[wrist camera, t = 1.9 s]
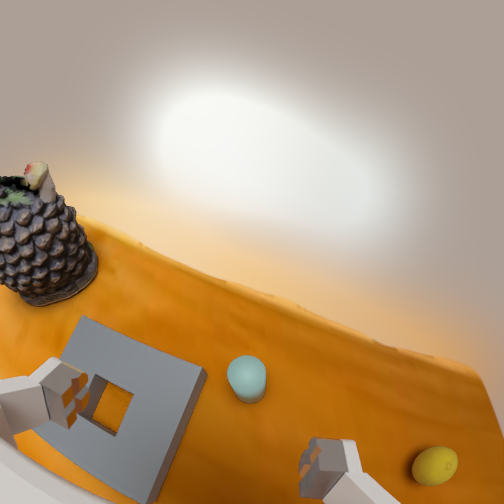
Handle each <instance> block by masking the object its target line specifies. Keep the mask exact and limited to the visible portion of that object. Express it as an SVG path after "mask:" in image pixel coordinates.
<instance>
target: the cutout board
mask: <svg viewBox="0 0 504 504" xmlns="http://www.w3.org/2000/svg"><path fill="white" fill-rule="evenodd" d="M60 360H61V361H63V362H66V363H68V364H69V365H71V366H73V367H75V368H77V369H79V370H81V371H83V372H85V373H87V374H88V382H87V384H86V386H87V387H88V389H89V393H90V396H89V401H88V404H87V406H86V408H85V409H84V411H83V412H80V413H77V414H76V415H77V420H76V421H75V422H74V424H73V425H72V426H71V428H70V429H69V430H68V429H66V428H64V427H62V426H60V425H58V424H56V423H54V422H53V421H51V420H50V422H47V423H44V424H42V425H39V426H37V427H34V428H32V430H33V431H34V432H36V433H37V434H38V435H39V436H40V437H41V438H43V439H44V440H45V441H46V442H48V443H49V444H50V445H51V446H52V447H54V448H55V449H56V450H58V451H59V452H60V453H61V454H63V455H64V456H65V457H67V458H68V459H69V460H71V461H72V462H74V463H75V464H76V465H78V466H79V467H81V468H82V469H84V470H85V471H87V472H88V473H90V474H91V475H93V476H94V477H96V478H97V479H99V480H100V481H102V482H104V483H105V484H107V485H108V486H110V487H112V488H113V489H115V490H117V491H119V492H120V493H122V494H124V495H126V496H127V497H129V498H131V499H133V500H135V501H137V502H139V503H141V504H150V503H153V502H155V501H156V499H157V497H158V494H159V492H160V490H161V487H162V485H163V482H164V480H165V477H166V475H167V473H168V470H169V468H170V465H171V463H172V461H173V458H174V456H175V453H176V451H177V448H178V446H179V444H180V441H181V439H182V436H183V434H184V431H185V429H186V427H187V424H188V422H189V419H190V417H191V414H192V412H193V409H194V407H195V405H196V402H197V400H198V397H199V395H200V392H201V390H202V387H203V385H204V383H205V380H206V378H207V373H206V372H205V370H204V369H203V368H202V367H200V366H197V365H195V364H192V363H189V362H187V361H184V360H181V359H179V358H176V357H174V356H171V355H169V354H166V353H164V352H161V351H159V350H157V349H154V348H152V347H150V346H147V345H145V344H143V343H140V342H138V341H136V340H133V339H131V338H129V337H127V336H125V335H122V334H120V333H118V332H116V331H114V330H112V329H110V328H108V327H106V326H103V325H101V324H99V323H97V322H95V321H93V320H91V319H89V318H87V317H85V316H84V315H82V317H81V319H80V321H79V322H78V324H77V326H76V328H75V330H74V332H73V334H72V335H71V337H70V339H69V341H68V343H67V345H66V347H65V349H64V351H63V353H62V355H61V357H60ZM108 381H110V382H112V383H113V384H115V385H117V386H119V387H121V388H123V389H125V390H127V391H129V392H131V393H133V394H134V396H133V398H132V400H131V402H130V405H129V407H128V409H127V411H126V414H125V416H124V418H123V421H122V423H121V425H120V428H119V430H118V432H117V433H116V432H114V431H112V430H110V429H109V428H107V427H105V426H104V425H102V424H100V423H99V422H97V421H96V420H94V419H92V416H93V413H94V411H95V409H96V407H97V404H98V402H99V400H100V398H101V395H102V393H103V391H104V389H105V387H106V384H107V382H108Z"/></svg>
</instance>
